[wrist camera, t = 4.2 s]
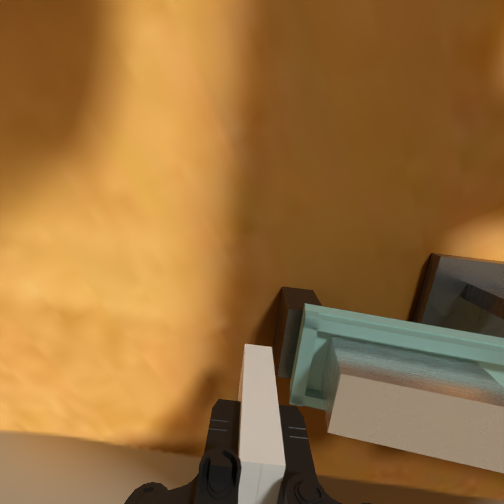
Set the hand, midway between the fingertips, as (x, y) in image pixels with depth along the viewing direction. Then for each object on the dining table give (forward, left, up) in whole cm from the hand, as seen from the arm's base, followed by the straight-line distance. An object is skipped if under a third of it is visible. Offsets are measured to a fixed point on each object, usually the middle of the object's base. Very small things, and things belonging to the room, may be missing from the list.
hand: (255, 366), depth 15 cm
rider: (0, +8, -1) cm, 8 cm away
